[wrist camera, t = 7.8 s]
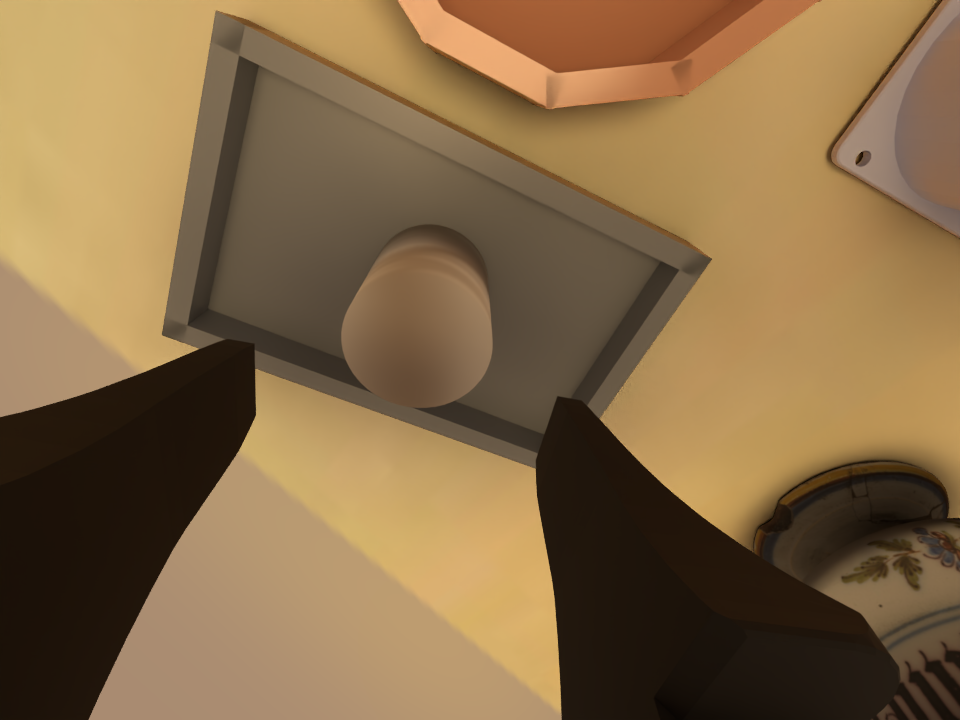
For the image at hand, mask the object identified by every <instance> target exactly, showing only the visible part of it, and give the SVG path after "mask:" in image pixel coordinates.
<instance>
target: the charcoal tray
mask: <svg viewBox="0 0 960 720" xmlns="http://www.w3.org/2000/svg"><path fill="white" fill-rule="evenodd" d="M424 224H433V225H440V226H444V227H448V228H450V229H453V230H455V231H457V232H459V233H461V234H462V235H464V236H465V237H466V238H468V239H469V240H470V241H471V242H472V243H473V244H474V245H475V247H476V248H477V249H478V251H479V252H480V254H481V256H482V258H483V260H484V262H485V265H486V269H487V275H488V286H489V299H490V312H491V325H492V338H493V349H492V356H491V360H490V363H489V366H488V368H487V370H486V372H485V374H484V376H483V377H482V379H481V380H480V381H479V383H478V384H477V385H476V386H475V387H474V388H473V389H472V390H471V391H469V392H468V393H467V394H465V395H464V396H462V397H461V398H459V399H457V400H455V401H453V402H450V403H448V404H445V405H441V406H436V407H429V408H414V407H406V406H401V405H397V404H394V403H391V402H389V401H386V400H384V399H382V398H380V397H379V396H377V395H375V394H374V393H372V392H371V391H370V390H368V389H367V388H366V387H365V386H364V385H363V384H362V383H360V382H359V380H358V379H357V378H356V377H355V375H354V374H353V372H352V371H351V369H350V368H349V366H348V364H347V361H346V359H345V356H344V353H343V349H342V343H341V331H342V324H343V321H344V317H345V315H346V312H347V310H348V308H349V306H350V305H351V303H352V301H353V299H354V298H355V296H356V294H357V292H358V291H359V289H360V287H361V285H362V284H363V282H364V280H365V278H366V277H367V275H368V273H369V271H370V270H371V268H372V266H373V264H374V263H375V261H376V259H377V257H378V256H379V254H380V252H381V251H382V249H383V248H384V246H385V245H386V244H387V242H388V241H389V240H390V239H391V238H393V237H394V236H395V235H396V234H398V233H399V232H401V231H403V230H405V229H407V228H410V227H413V226H417V225H424ZM711 260H712V259H711V258H710V257H708V256H707V255H706V254H704V253H703V252H702V251H700V250H699V249H697V248H696V247H695V246H693V245H692V244H691V243H689V242H688V241H686V240H684V239H682V238H680V237H678V236H676V235H674V234H672V233H670V232H668V231H666V230H664V229H662V228H660V227H658V226H656V225H654V224H652V223H650V222H648V221H646V220H644V219H642V218H640V217H638V216H636V215H634V214H632V213H630V212H628V211H626V210H624V209H622V208H620V207H618V206H616V205H614V204H612V203H610V202H608V201H606V200H604V199H602V198H600V197H598V196H596V195H594V194H592V193H590V192H588V191H586V190H584V189H582V188H580V187H578V186H576V185H575V184H573V183H571V182H569V181H567V180H565V179H563V178H561V177H559V176H557V175H555V174H553V173H551V172H549V171H547V170H545V169H543V168H541V167H539V166H537V165H535V164H533V163H531V162H529V161H527V160H525V159H523V158H521V157H519V156H517V155H515V154H513V153H511V152H509V151H507V150H505V149H503V148H501V147H499V146H497V145H495V144H493V143H491V142H489V141H487V140H485V139H483V138H481V137H479V136H477V135H475V134H473V133H471V132H469V131H467V130H465V129H463V128H461V127H459V126H457V125H455V124H453V123H451V122H449V121H447V120H445V119H444V118H442V117H440V116H438V115H436V114H434V113H432V112H430V111H428V110H426V109H424V108H422V107H420V106H418V105H416V104H414V103H412V102H410V101H408V100H406V99H404V98H402V97H400V96H398V95H396V94H394V93H392V92H390V91H388V90H386V89H384V88H382V87H380V86H378V85H376V84H374V83H372V82H370V81H368V80H366V79H364V78H362V77H360V76H358V75H356V74H354V73H352V72H350V71H348V70H346V69H344V68H342V67H340V66H338V65H336V64H334V63H332V62H330V61H328V60H326V59H324V58H322V57H320V56H318V55H316V54H315V53H313V52H311V51H309V50H307V49H305V48H303V47H301V46H299V45H297V44H295V43H293V42H291V41H289V40H287V39H285V38H283V37H281V36H279V35H277V34H275V33H273V32H271V31H269V30H267V29H265V28H263V27H261V26H259V25H257V24H255V23H253V22H251V21H249V20H246V19H243V18H240V17H236V16H233V15H230V14H226V13H223V12H219V11H216V12H215V18H214V24H213V31H212V37H211V43H210V49H209V55H208V61H207V67H206V73H205V79H204V85H203V91H202V97H201V103H200V109H199V115H198V121H197V127H196V133H195V139H194V145H193V151H192V157H191V163H190V169H189V175H188V181H187V187H186V193H185V199H184V205H183V211H182V217H181V223H180V229H179V235H178V241H177V247H176V253H175V259H174V265H173V271H172V277H171V283H170V289H169V295H168V301H167V307H166V313H165V319H164V325H163V331H162V335H163V336H166V337H168V338H171V339H174V340H177V341H180V342H182V343H185V344H188V345H191V346H194V347H196V348H199V349H201V348H204V347H206V346H208V345H211V344H214V343H216V342H219V341H222V340H225V339H232V340H237V341H243V342H249V343H255V369H258V370H261V371H264V372H266V373H269V374H272V375H275V376H278V377H280V378H283V379H286V380H289V381H292V382H294V383H297V384H300V385H303V386H306V387H308V388H311V389H314V390H317V391H320V392H322V393H325V394H328V395H331V396H334V397H337V398H339V399H342V400H345V401H348V402H351V403H353V404H356V405H359V406H362V407H365V408H367V409H370V410H373V411H376V412H379V413H381V414H384V415H387V416H390V417H393V418H395V419H398V420H401V421H404V422H407V423H409V424H412V425H415V426H418V427H421V428H423V429H426V430H429V431H432V432H435V433H437V434H440V435H443V436H446V437H449V438H451V439H454V440H457V441H460V442H463V443H465V444H468V445H471V446H474V447H477V448H479V449H482V450H485V451H488V452H491V453H493V454H496V455H499V456H502V457H505V458H507V459H510V460H513V461H516V462H519V463H521V464H524V465H527V466H530V467H533V468H535V469H536V458H537V455H538V452H539V449H540V446H541V443H542V440H543V437H544V434H545V431H546V428H547V425H548V422H549V419H550V416H551V413H552V410H553V407H554V404H555V401H556V399H557V396H560V397H565V398H571V399H577V400H582V401H583V402H584V403H585V404H586V405H587V406H588V407H589V408H590V409H591V410H592V412H593V413H594V414H595V415H596V416H597V417H598V418H600V417H601V416H602V414H603V413H604V411H605V410H606V409H607V407H608V406H609V404H610V403H611V401H612V400H613V399H614V397H615V396H616V394H617V393H618V392H619V390H620V389H621V387H622V386H623V384H624V383H625V382H626V380H627V379H628V377H629V376H630V375H631V373H632V372H633V370H634V369H635V367H636V366H637V365H638V363H639V362H640V360H641V359H642V358H643V356H644V355H645V353H646V352H647V350H648V349H649V348H650V346H651V345H652V343H653V342H654V341H655V339H656V338H657V336H658V335H659V333H660V332H661V331H662V329H663V328H664V326H665V325H666V324H667V322H668V321H669V319H670V318H671V316H672V315H673V314H674V312H675V311H676V309H677V308H678V307H679V305H680V304H681V302H682V301H683V299H684V298H685V297H686V295H687V294H688V292H689V291H690V290H691V288H692V287H693V285H694V284H695V282H696V281H697V280H698V278H699V277H700V275H701V274H702V272H703V271H704V270H705V268H706V267H707V265H708V264H709V263H710V261H711Z"/></svg>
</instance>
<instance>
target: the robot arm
mask: <svg viewBox="0 0 960 720" xmlns="http://www.w3.org/2000/svg"><path fill="white" fill-rule="evenodd" d="M861 152H863V158H862V160H861V161H860V162H859V163H858V164H855V159H856V157H857V155H858V154H860V153H861ZM831 158H832V162H833V163H834V164H835V165H837V166H838V167H840V168H842V169H843V170H845V171H847V172H848V173H850V174H852V175H854V176H855V177H857V178H859V179H860V180H862V181H864V182H865V183H867V184H869V185H871V186H872V187H874V188H876V189H877V190H879V191H881V192H882V193H884V194H886V195H888V196H889V197H891V198H893V199H894V200H896V201H898V202H899V203H901V204H903V205H904V206H906V207H908V208H910V209H911V210H913V211H915V212H916V213H918V214H920V215H921V216H923V217H925V218H927V219H928V220H930V221H932V222H933V223H935V224H937V225H938V226H940V227H942V228H943V229H945V230H947V231H949V232H950V233H952V234H954V235H955V236H957V237H959V238H960V0H943V1H942V2H941V3H940V5H939V6H938V7H937V9H936V10H935V11H934V13H933V14H932V15H931V17H930V18H929V19H928V21H927V22H926V23H925V25H924V26H923V27H922V29H921V30H920V31H919V33H918V34H917V35H916V37H915V38H914V39H913V41H912V42H911V44H910V45H909V46H908V48H907V49H906V50H905V52H904V53H903V54H902V56H901V57H900V58H899V60H898V61H897V62H896V64H895V65H894V66H893V68H892V69H891V70H890V72H889V73H888V74H887V76H886V77H885V78H884V80H883V81H882V83H881V84H880V85H879V87H878V88H877V89H876V91H875V92H874V93H873V95H872V96H871V97H870V99H869V100H868V101H867V103H866V104H865V105H864V107H863V108H862V109H861V111H860V112H859V113H858V115H857V116H856V117H855V119H854V120H853V122H852V123H851V124H850V126H849V127H848V128H847V130H846V131H845V132H844V134H843V135H842V136H841V138H840V139H839V140H838V142H837V143H836V144H835V146H834V148H833V150H832V154H831ZM255 416H256V397H255V343H249V342H243V341H237V340H232V339H225V340H222V341H219V342H216V343H214V344H211V345H208V346H206V347H204V348H201V349H199V350H196V351H194V352H192V353H189V354H187V355H185V356H182V357H180V358H177V359H175V360H173V361H170V362H168V363H165V364H163V365H161V366H158V367H156V368H153V369H151V370H149V371H146V372H143V373H141V374H138V375H136V376H133V377H130V378H128V379H125V380H122V381H119V382H117V383H114V384H111V385H109V386H106V387H103V388H101V389H98V390H95V391H92V392H89V393H86V394H83V395H80V396H77V397H74V398H71V399H67V400H64V401H60V402H57V403H53V404H50V405H46V406H43V407H40V408H36V409H32V410H29V411H25V412H21V413H16V414H12V415H8V416H4V417H0V720H88V719H89V717H90V715H91V713H92V710H93V708H94V706H95V704H96V702H97V699H98V697H99V695H100V693H101V691H102V689H103V687H104V685H105V682H106V680H107V678H108V676H109V674H110V672H111V670H112V668H113V666H114V664H115V661H116V659H117V657H118V655H119V653H120V651H121V649H122V647H123V645H124V643H125V641H126V638H127V636H128V634H129V633H130V630H131V629H132V626H133V625H134V623H135V621H136V619H137V617H138V615H139V613H140V611H141V609H142V607H143V605H144V603H145V601H146V599H147V597H148V595H149V593H150V591H151V589H152V587H153V585H154V584H155V582H156V580H157V578H158V576H159V574H160V573H161V571H162V569H163V567H164V565H165V563H166V562H167V559H168V558H169V556H170V554H171V552H172V550H173V549H174V547H175V545H176V544H177V542H178V540H179V539H180V537H181V536H182V534H183V533H184V531H185V529H186V528H187V526H188V525H189V524H190V522H191V521H192V519H193V518H194V516H195V515H196V513H197V512H198V510H199V509H200V507H201V506H202V504H203V503H204V502H205V500H206V499H207V497H208V496H209V494H210V493H211V491H212V490H213V488H214V487H215V486H216V484H217V483H218V481H219V480H220V478H221V477H222V475H223V474H224V472H225V471H226V469H227V468H228V466H229V465H230V463H231V462H232V460H233V459H234V457H235V456H236V454H237V453H238V451H239V449H240V447H241V445H242V443H243V441H244V439H245V437H246V435H247V433H248V431H249V429H250V427H251V425H252V423H253V421H254V418H255ZM536 485H537V498H538V505H539V510H540V516H541V522H542V527H543V533H544V538H545V543H546V549H547V554H548V560H549V565H550V571H551V576H552V582H553V590H554V597H555V608H556V621H557V634H558V650H559V667H560V685H561V712H562V720H871V719H873V718H874V717H875V716H876V715H877V714H878V713H879V712H881V711H882V710H883V709H884V708H885V707H886V706H887V704H888V703H889V702H890V701H891V700H892V699H893V698H894V696H895V694H896V691H897V689H898V687H899V684H900V680H901V677H900V669H899V666H898V664H897V663H896V662H895V660H894V659H893V657H892V656H891V655H890V653H889V652H888V650H887V649H886V648H885V646H884V645H883V643H882V642H881V641H880V639H879V638H878V636H877V635H876V634H875V632H874V631H873V629H872V628H871V627H870V625H869V624H868V622H867V621H866V620H865V618H864V617H863V615H862V614H861V613H859V612H857V611H856V610H854V609H852V608H850V607H848V606H846V605H844V604H842V603H840V602H839V601H837V600H835V599H833V598H831V597H829V596H827V595H825V594H824V593H822V592H820V591H818V590H816V589H814V588H812V587H810V586H808V585H807V584H805V583H803V582H801V581H799V580H797V579H796V578H794V577H792V576H791V575H789V574H787V573H786V572H784V571H782V570H781V569H779V568H777V567H776V566H774V565H772V564H771V563H769V562H767V561H766V560H764V559H762V558H761V557H759V556H758V555H756V554H755V553H753V552H751V551H750V550H748V549H747V548H745V547H744V546H742V545H741V544H739V543H738V542H736V541H735V540H734V539H732V538H731V537H729V536H728V535H726V534H725V533H724V532H722V531H721V530H719V529H718V528H716V527H715V526H714V525H712V524H711V523H710V522H708V521H707V520H706V519H704V518H703V517H702V516H700V515H699V514H698V513H696V512H695V511H694V510H693V509H691V508H690V507H689V506H688V505H687V504H685V503H684V502H683V501H682V500H681V499H679V498H678V497H677V496H676V495H674V494H673V493H672V492H671V491H670V490H669V489H668V488H666V487H665V486H664V485H663V484H662V483H661V482H660V481H659V480H658V479H657V478H656V477H655V476H653V475H652V474H651V473H650V472H649V471H648V470H647V469H646V468H645V467H644V466H643V465H642V464H641V463H640V462H639V461H638V460H637V459H636V458H635V457H634V456H633V455H632V454H631V453H630V452H629V451H628V450H627V449H626V448H625V447H624V445H623V444H622V443H621V442H620V441H619V440H618V439H617V438H616V437H615V436H614V435H613V434H612V432H611V431H610V430H609V429H608V428H607V427H606V426H605V425H604V424H603V423H602V421H601V420H600V419H599V418H598V417H597V416H596V415H595V414H594V413H593V412H592V410H591V409H590V408H589V407H588V406H587V405H586V404H585V403H584V402H583V401H582V400H577V399H571V398H565V397H560V396H557V399H556V401H555V404H554V407H553V410H552V413H551V416H550V419H549V422H548V425H547V428H546V431H545V434H544V437H543V440H542V443H541V446H540V449H539V452H538V455H537V458H536Z"/></svg>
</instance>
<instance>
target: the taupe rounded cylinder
mask: <svg viewBox="0 0 960 720" xmlns="http://www.w3.org/2000/svg"><path fill="white" fill-rule="evenodd" d="M341 343H342V349H343V353H344V356H345V359H346V361H347V364H348V366H349V368H350V369H351V371H352V372H353V374H354V375H355V377H356V378H357V379H358V380H359V382H360V383H362V384H363V385H364V386H365V387H366V388H367V389H368V390H370V391H371V392H372V393H374V394H375V395H377V396H379V397H380V398H382V399H384V400H386V401H389V402H391V403H394V404H397V405H401V406H406V407H414V408H429V407H436V406H441V405H445V404H448V403H450V402H453V401H455V400H457V399H459V398H461V397H462V396H464V395H465V394H467V393H468V392H469V391H471V390H472V389H473V388H474V387H475V386H476V385H477V384H478V383H479V381H480V380H481V379H482V377H483V376H484V374H485V372H486V370H487V368H488V366H489V363H490V360H491V356H492V349H493V338H492V325H491V312H490V299H489V286H488V275H487V269H486V265H485V262H484V260H483V258H482V256H481V254H480V252H479V251H478V249H477V248H476V247H475V245H474V244H473V243H472V242H471V241H470V240H469V239H468V238H466V237H465V236H464V235H462V234H461V233H459V232H457V231H455V230H453V229H450V228H448V227H444V226H440V225H433V224H424V225H417V226H413V227H410V228H407V229H405V230H403V231H401V232H399V233H398V234H396V235H395V236H394V237H393V238H391V239H390V240H389V241H388V242H387V244H386V245H385V246H384V248H383V249H382V251H381V252H380V254H379V256H378V257H377V259H376V261H375V263H374V264H373V266H372V268H371V270H370V271H369V273H368V275H367V277H366V278H365V280H364V282H363V284H362V285H361V287H360V289H359V291H358V292H357V294H356V296H355V298H354V299H353V301H352V303H351V305H350V306H349V308H348V310H347V312H346V315H345V317H344V321H343V324H342V331H341Z"/></svg>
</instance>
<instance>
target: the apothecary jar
mask: <svg viewBox="0 0 960 720" xmlns="http://www.w3.org/2000/svg"><path fill="white" fill-rule="evenodd" d="M948 511H949V501H948V496H947V492H946V489H945V487H944V486H943V484H942V483H941V482H940V481H939V480H938V479H937V478H936V477H935V476H934V475H933V474H931V473H930V472H928V471H926V470H924V469H922V468H919V467H916V466H913V465H909V464H905V463H899V462H888V461H881V462H879V461H877V462H866V463H858V464H852V465H848V466H844V467H840V468H837V469H834V470H831V471H828V472H826V473H823V474H821V475H818V476H816V477H814V478H812V479H810V480H808V481H806V482H805V483H803V484H801V485H799V486H798V487H797V488H795V489H793V490H792V491H791V492H789V493H788V494H787V495H785V496H784V497H783V498H782V499H781V500H780V501H779V502H778V506H777V509H776V512H775V515H774V517H773V519H772V520H770V521H769V522H768V523H766V524H763V525H762V526H760V527H759V528H758V530H757V533H756V536H755V540H754V553H755V554H756V555H758V556H759V557H761V558H762V559H764V560H766V561H767V562H769V563H771V564H772V565H774V566H776V567H777V568H779V569H781V570H782V571H784V572H786V573H787V574H789V575H791V576H792V577H794V578H796V579H797V580H799V581H801V582H803V583H805V584H807V585H808V586H810V587H812V588H814V589H816V590H818V591H820V592H822V593H824V594H825V595H827V596H829V597H831V598H833V599H835V600H837V601H839V602H840V603H842V604H844V605H846V606H848V607H850V608H852V609H854V610H856V611H857V612H859V613H861V614H862V615H863V617H864V618H865V620H866V621H867V622H868V624H869V625H870V627H871V628H872V629H873V631H874V632H875V634H876V635H877V636H878V638H879V639H880V641H881V642H882V643H883V645H884V646H885V648H886V649H887V650H888V652H889V653H890V655H891V656H892V657H893V659H894V660H895V662H896V663H897V664H898V666H899V669H900V677H901V680H900V684H899V687H898V689H897V691H896V694H895V696H894V698H893V699H892V700H891V701H890V702H889V703H888V704H887V706H886V707H885V708H884V709H883V710H882V711H881V712H879V713H878V714H877V715H876V716H875V717H874V718H873V719H871V720H960V518H947V517H948Z"/></svg>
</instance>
